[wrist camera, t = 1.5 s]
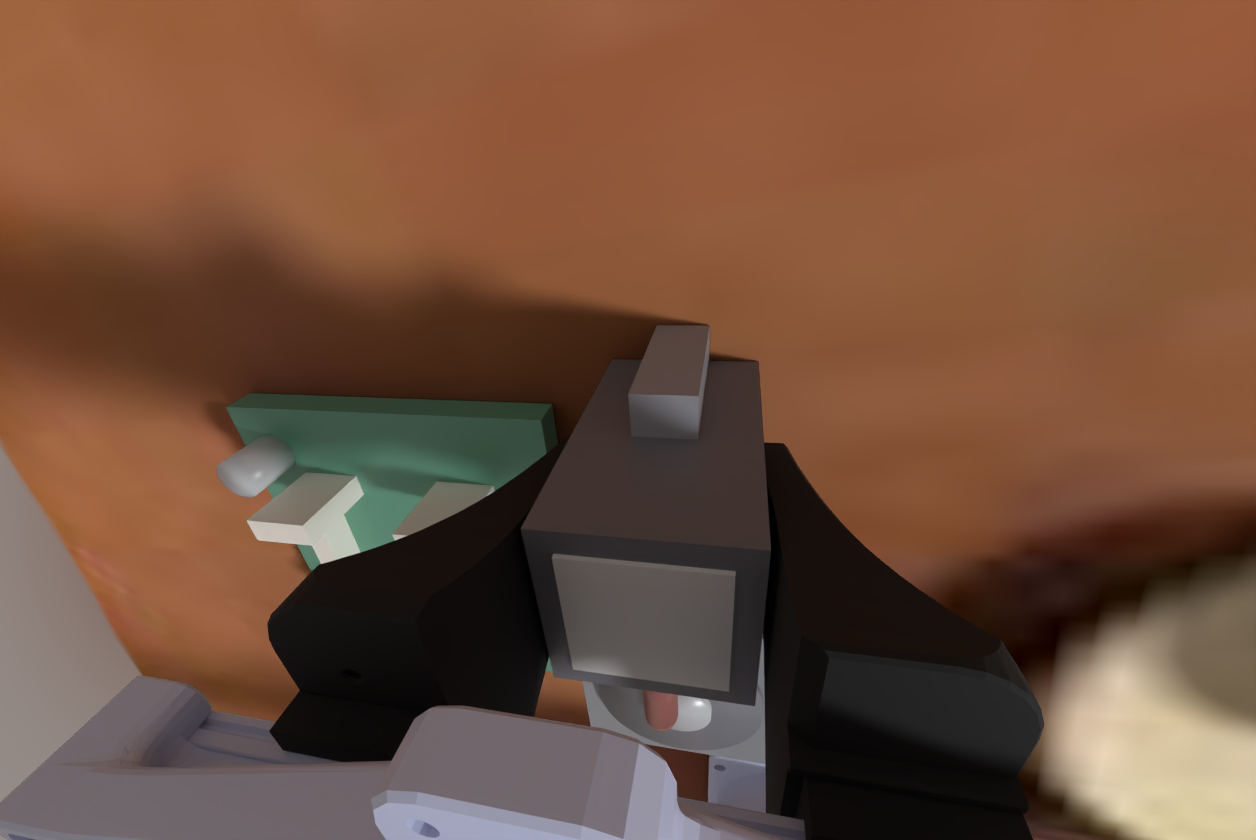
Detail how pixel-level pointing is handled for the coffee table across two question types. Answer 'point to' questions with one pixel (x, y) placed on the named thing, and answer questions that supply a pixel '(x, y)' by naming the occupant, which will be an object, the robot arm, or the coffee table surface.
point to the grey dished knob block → (685, 721)
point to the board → (374, 464)
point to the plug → (659, 530)
